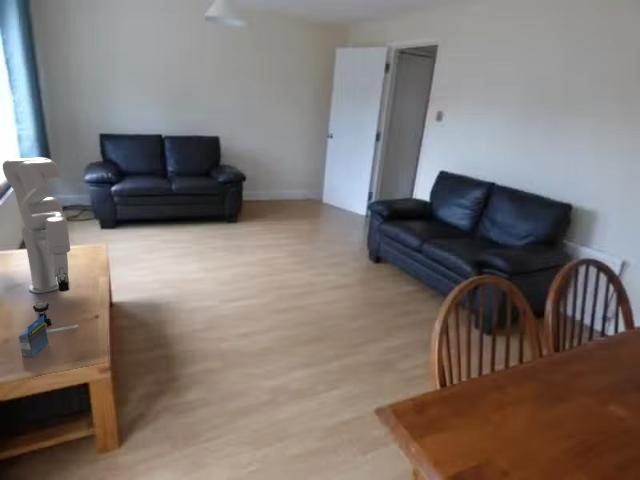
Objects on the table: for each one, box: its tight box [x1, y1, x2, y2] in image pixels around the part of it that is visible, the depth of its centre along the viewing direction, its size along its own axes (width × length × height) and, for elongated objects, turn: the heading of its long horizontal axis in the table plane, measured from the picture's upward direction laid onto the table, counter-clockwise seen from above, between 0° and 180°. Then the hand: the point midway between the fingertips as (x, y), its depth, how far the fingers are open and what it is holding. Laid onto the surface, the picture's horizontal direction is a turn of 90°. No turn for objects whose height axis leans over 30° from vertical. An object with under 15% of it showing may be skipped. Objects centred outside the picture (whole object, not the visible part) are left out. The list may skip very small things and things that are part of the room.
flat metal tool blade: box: [46, 324, 79, 334], centre depth 165 cm, size 2×13×1 cm, turn 122°
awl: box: [56, 274, 71, 293], centre depth 172 cm, size 4×4×10 cm
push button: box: [32, 301, 52, 328], centre depth 164 cm, size 7×5×10 cm
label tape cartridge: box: [18, 315, 49, 358], centre depth 150 cm, size 9×4×12 cm, turn 178°
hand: (63, 287), depth 173 cm, fingers closed on awl, 4 cm apart
